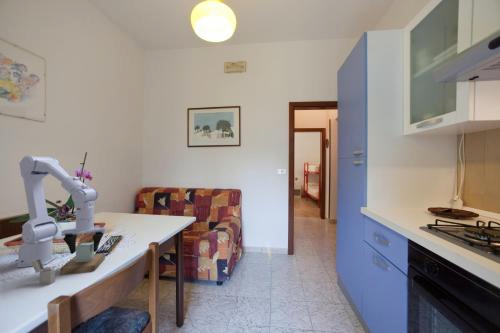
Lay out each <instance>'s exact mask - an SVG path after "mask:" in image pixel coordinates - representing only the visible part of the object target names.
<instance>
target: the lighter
mask: <svg viewBox="0 0 500 333" xmlns="http://www.w3.org/2000/svg"><path fill="white" fill-rule="evenodd" d="M31 263H32V265H33V266H32V268H33V269H34V272H35V273H36V274H37V273H39V285H52V284H54V283H55V282H56V269H55V268H53V269H52V267H51V266H46V267H44V265H43V264H42V262H41V260H40V258H39V259H37V260H34V261H32V262H31Z"/></svg>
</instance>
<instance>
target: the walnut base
mask: <svg viewBox="0 0 500 333" xmlns="http://www.w3.org/2000/svg"><path fill="white" fill-rule="evenodd" d="M104 261H106V252H105V253H94V257H93V258H92V259H91V260H90V261H89V262H78V263H76V255H74V256H72V258H71V259H70V260H69V261H67V262H66V263H65V264H64V265H62V266H61V267H60V268H59V276H64V275H65V276H66V275H73V274H82V273H83V274H84V273H91V272H96V270H97V269H98V268H99V267H100V266H101V264H103V263H104Z"/></svg>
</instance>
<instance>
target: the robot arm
mask: <svg viewBox="0 0 500 333" xmlns="http://www.w3.org/2000/svg"><path fill="white" fill-rule="evenodd" d="M18 164H19V170H20V175H21V176H20V177H22V180H23V185H24V191H25V197H26V204H27V209H28V215H29V219H28V220H27V221H26V222H25V223H24V224H22V226H21V228H22V232H21V240H22V241H23V242H22V243H21V244H20V246H19V248H18V253H17V254H18V258H17V259H18V260H17V261H18V264H17V265H16V268H25V267H33V265H32V263H31V262H32V261H34V260H37V259H39V258H40V260H41V262H42V264H43V266H44V265H48V264H49V263H51V262H52V261H53V260H55V259H56V258H57V257H58V255H53V241H54V240H53V239H54V238H55V236H57V234H58V232H59V226H58V224H57V223H56V219H55V218H54V217H52V216H49V214H48V208H47V203H46V196H45V190H44V185H43V179H44V178H46V177H47V176H49V175H51V176H52V177H54V178H55V179H56V180H58V181H59V182H61V183H60V185H61V186H60V187H62V188H63V189H64V190H65V191H66V192H68V194H70V195H71V200H72V202H73V205H74V208H75V228H68V229H63V230H62V231H61V237H63V238H62V239H63V242H64V243H65V244H66V245H67V248H68V249H69V252H70V255H71V254H72V255H73V254H75V253H76V247H77V245H76V243H77V236H78V235H91V234H93V235H92V241H93V242H92V243H94V248H93V251H94V253H95V252H97V251H98V250H99V246H100V242H101V240H102V238H103V237H104V234H106V233H107V229H108V228H107V227H106V226H103V227H100V226H99V227H98V226H94V224H95V201H96V200H97V199H98V196H99V193H98V190H97V189H96V188H95V187H93V186H92V187H90V186H88V185H87V184H85V183H84V182H83V181H81V180H80V178H79V177H77V176H70V174H69V173H67V171H65V169H63V167H62V166H60V161H59V160H57V158H55V157H54V156H32V155H26V156H24V157H22V159H21V160H20V162H19V163H18Z"/></svg>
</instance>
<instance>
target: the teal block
mask: <svg viewBox="0 0 500 333" xmlns="http://www.w3.org/2000/svg"><path fill="white" fill-rule="evenodd" d="M93 248H94V242H82V243H80V244H79V245H78V246H77V245H76V251H75V256H76V263H78V262H89V261H90V260H91V259H92V258H93V257H94V254H95V252H94V251H93Z"/></svg>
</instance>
